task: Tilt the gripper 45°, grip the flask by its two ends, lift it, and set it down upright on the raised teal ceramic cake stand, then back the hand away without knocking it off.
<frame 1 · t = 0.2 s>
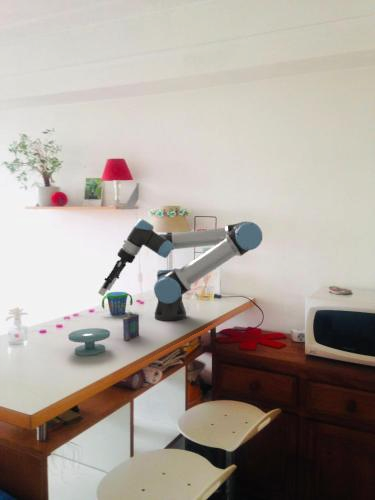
hand: (103, 291, 198), 15 cm above the table, tool tilted 35°, fingers open, 13 cm apart
flask: (131, 338, 181), on the table
snack cup: (117, 313, 223), on the table
cake stand: (90, 350, 165), on the table
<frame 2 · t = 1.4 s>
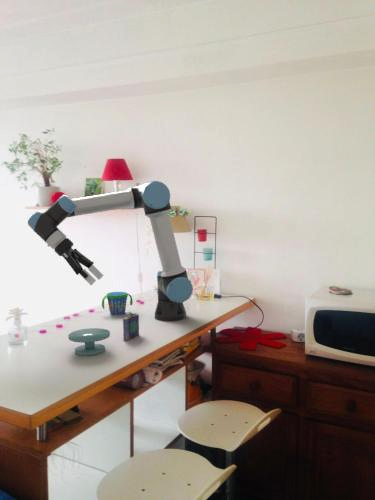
hand: (97, 280, 182), 23 cm above the table, tool tilted 45°, fingers open, 13 cm apart
nothing on the table moved.
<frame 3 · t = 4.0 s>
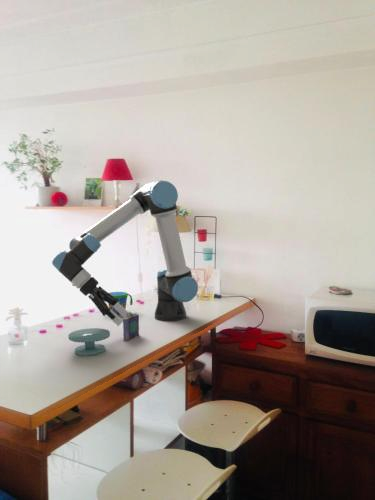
hand: (123, 319, 179), 8 cm above the table, tool tilted 45°, fingers open, 13 cm apart
nothing on the table moved.
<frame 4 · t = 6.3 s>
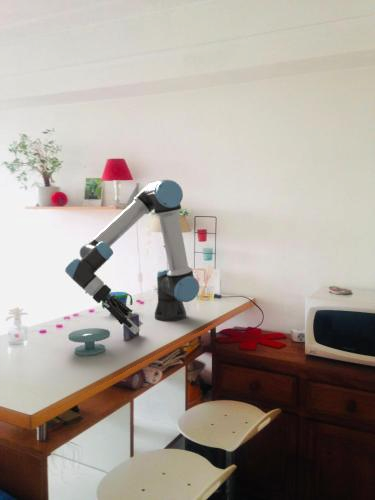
hand: (139, 328, 180), 4 cm above the table, tool tilted 45°, fingers closed on flask, 8 cm apart
flask: (131, 338, 181), on the table, touching gripper
everything else where it was.
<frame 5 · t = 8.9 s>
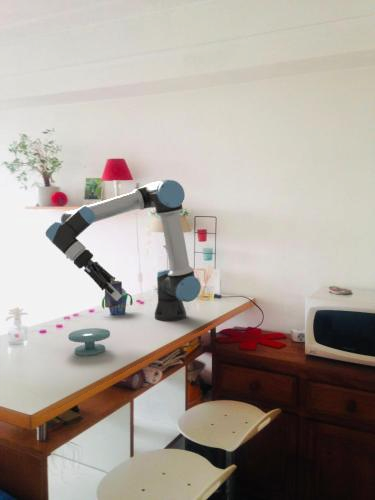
hand: (121, 296, 173), 18 cm above the table, tool tilted 45°, fingers closed on flask, 8 cm apart
flask: (113, 306, 174), point 14 cm above the table, touching gripper
everything else where it was.
when the fingers open (12 cm above the table, at t = 11.7 s): flask drops 1 cm, resting on cake stand.
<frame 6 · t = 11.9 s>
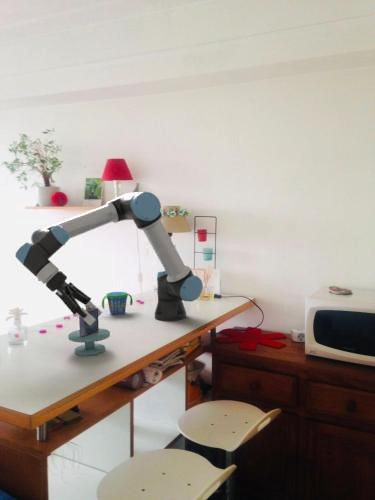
hand: (96, 318, 164), 12 cm above the table, tool tilted 45°, fingers open, 10 cm apart
flask: (89, 334, 164), point 6 cm above the table, touching cake stand
everything else where it was.
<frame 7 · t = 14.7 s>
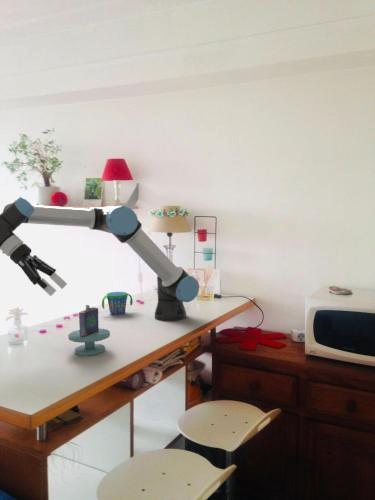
hand: (59, 289, 164), 23 cm above the table, tool tilted 45°, fingers open, 13 cm apart
nothing on the table moved.
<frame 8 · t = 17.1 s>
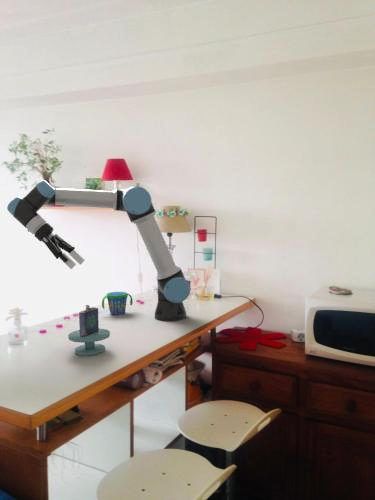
hand: (78, 264, 183), 30 cm above the table, tool tilted 45°, fingers open, 13 cm apart
nothing on the table moved.
at the end: flask inside the target area on the cake stand (0.0 cm from its centre), point 6.3 cm above the cake stand's base; flask tilted 1°; the gripper is holding nothing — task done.
